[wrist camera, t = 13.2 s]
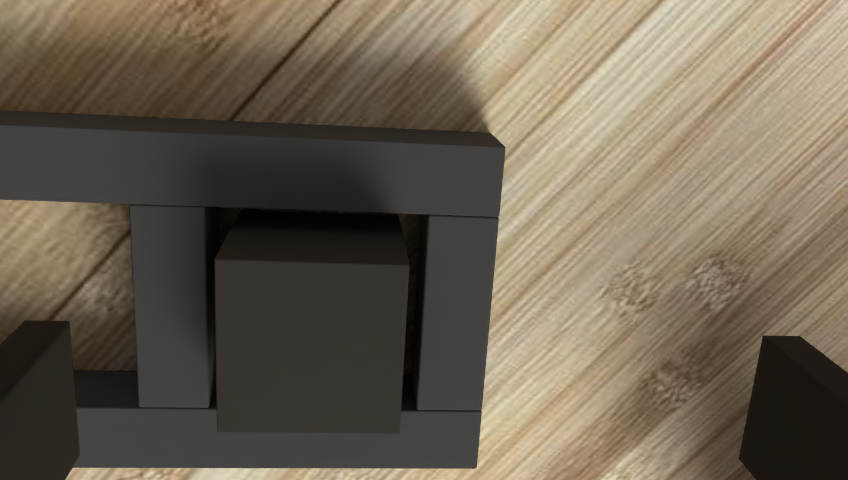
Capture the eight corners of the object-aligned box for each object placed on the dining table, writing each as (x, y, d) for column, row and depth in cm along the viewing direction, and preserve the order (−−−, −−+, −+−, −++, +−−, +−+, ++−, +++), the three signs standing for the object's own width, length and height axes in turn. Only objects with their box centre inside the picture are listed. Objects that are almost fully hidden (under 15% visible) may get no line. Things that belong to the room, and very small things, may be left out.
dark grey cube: (398, 215, 30) (409, 264, 25) (391, 357, 32) (399, 434, 26) (240, 209, 30) (214, 258, 24) (241, 354, 31) (216, 433, 26)
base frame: (-151, 103, 27) (-209, 114, 25) (490, 132, 30) (505, 146, 27) (-104, 424, 31) (-150, 467, 28) (466, 429, 33) (476, 469, 30)
